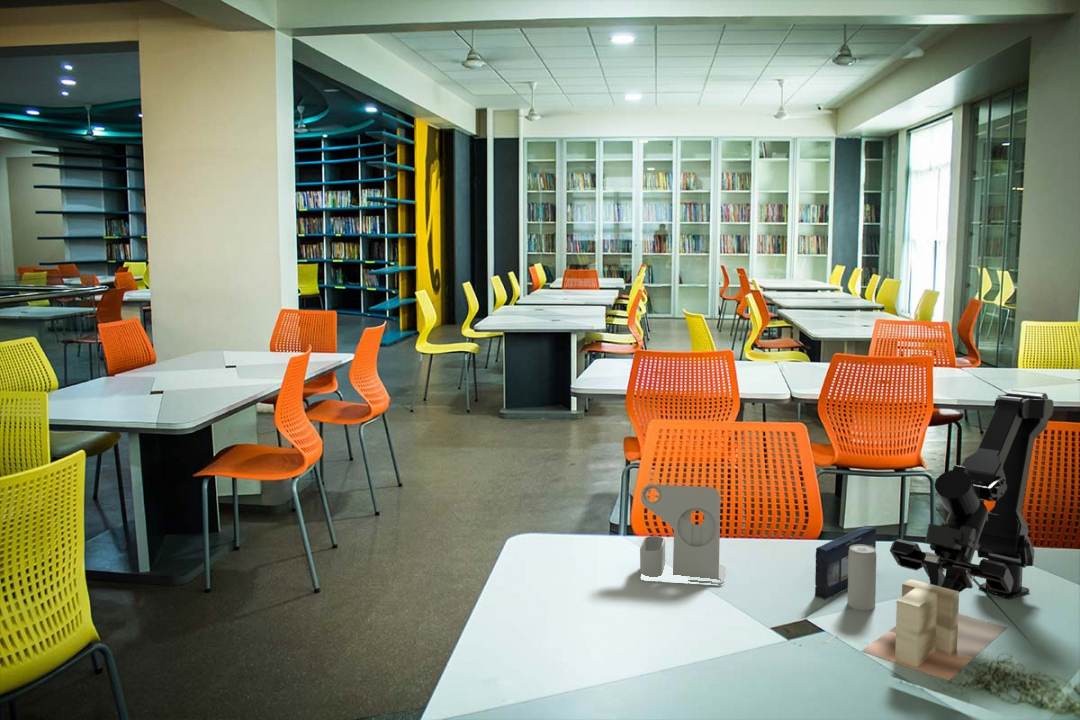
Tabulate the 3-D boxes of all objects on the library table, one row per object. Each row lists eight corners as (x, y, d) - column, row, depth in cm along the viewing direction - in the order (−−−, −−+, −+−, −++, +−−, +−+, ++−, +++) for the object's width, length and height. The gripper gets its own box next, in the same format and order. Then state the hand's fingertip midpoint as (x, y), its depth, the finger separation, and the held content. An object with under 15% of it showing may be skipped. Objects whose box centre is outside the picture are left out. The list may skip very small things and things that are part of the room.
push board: (925, 610, 161) (925, 604, 160) (1007, 633, 151) (1007, 627, 150) (861, 657, 144) (861, 651, 144) (948, 687, 134) (948, 680, 133)
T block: (908, 634, 149) (910, 578, 147) (956, 649, 143) (959, 591, 142) (881, 655, 142) (883, 596, 141) (931, 671, 136) (933, 610, 135)
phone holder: (637, 581, 179) (635, 495, 176) (643, 563, 188) (642, 482, 186) (723, 587, 174) (723, 499, 172) (726, 568, 184) (725, 485, 182)
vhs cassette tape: (825, 600, 167) (826, 550, 165) (812, 596, 169) (812, 546, 168) (877, 575, 178) (878, 528, 177) (864, 571, 180) (865, 524, 179)
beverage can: (877, 617, 159) (878, 553, 157) (849, 615, 160) (850, 552, 158) (872, 606, 163) (874, 544, 162) (845, 604, 164) (846, 543, 163)
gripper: (896, 494, 153) (865, 571, 147) (1010, 516, 140) (981, 602, 134) (913, 526, 160) (884, 602, 154) (1025, 551, 146) (998, 634, 140)
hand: (933, 609), depth 145 cm, fingers closed, pressing on T block
